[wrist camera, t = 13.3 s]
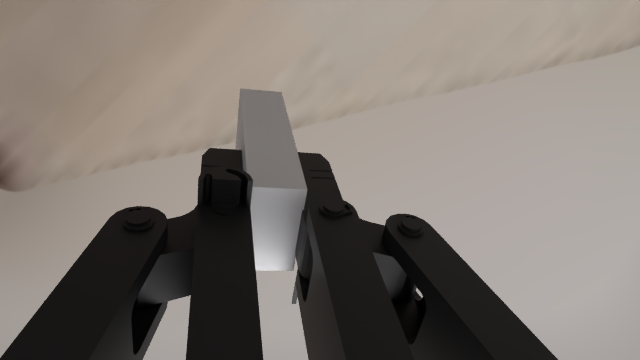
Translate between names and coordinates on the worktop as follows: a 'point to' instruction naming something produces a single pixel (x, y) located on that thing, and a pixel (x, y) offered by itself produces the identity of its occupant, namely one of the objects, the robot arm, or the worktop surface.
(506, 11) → the worktop surface
